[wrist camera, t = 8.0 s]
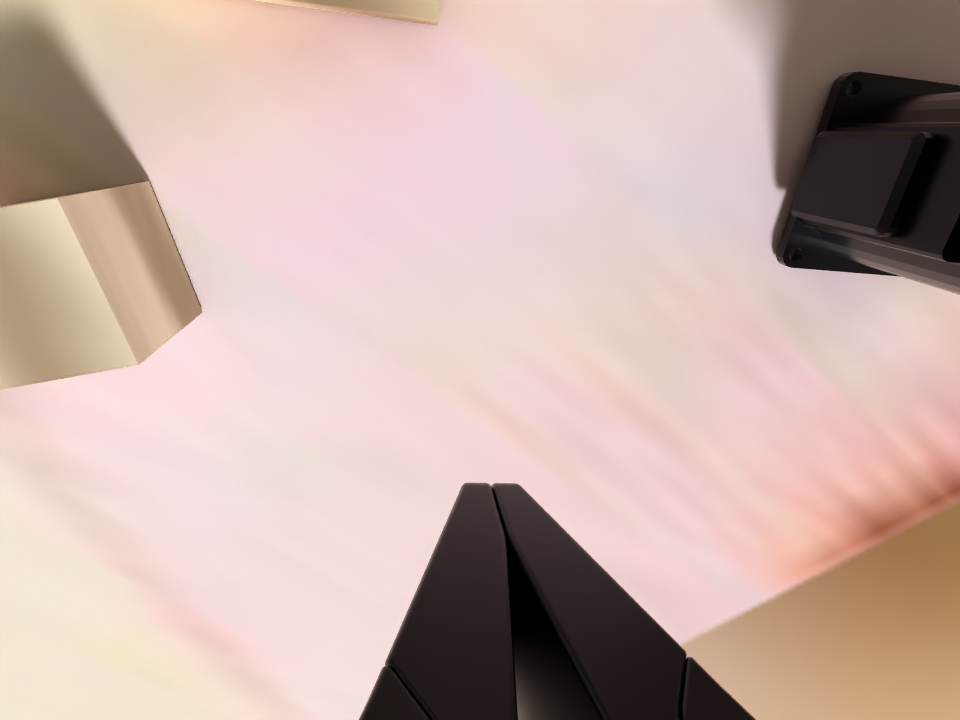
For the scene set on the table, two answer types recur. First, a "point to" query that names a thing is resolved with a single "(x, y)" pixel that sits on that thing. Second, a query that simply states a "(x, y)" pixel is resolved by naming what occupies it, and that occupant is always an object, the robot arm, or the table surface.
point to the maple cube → (87, 284)
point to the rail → (375, 8)
